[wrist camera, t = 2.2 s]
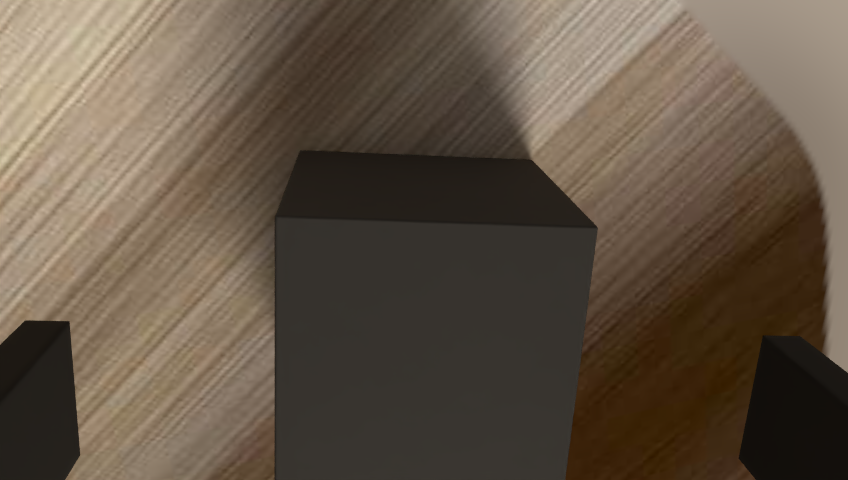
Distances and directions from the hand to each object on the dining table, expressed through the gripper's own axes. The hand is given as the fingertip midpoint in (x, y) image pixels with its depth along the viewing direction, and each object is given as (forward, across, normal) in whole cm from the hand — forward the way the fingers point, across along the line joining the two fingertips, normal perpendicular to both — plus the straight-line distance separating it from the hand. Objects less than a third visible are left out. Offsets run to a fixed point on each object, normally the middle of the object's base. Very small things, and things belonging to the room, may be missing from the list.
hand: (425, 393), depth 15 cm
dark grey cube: (+7, 0, 0) cm, 7 cm away
